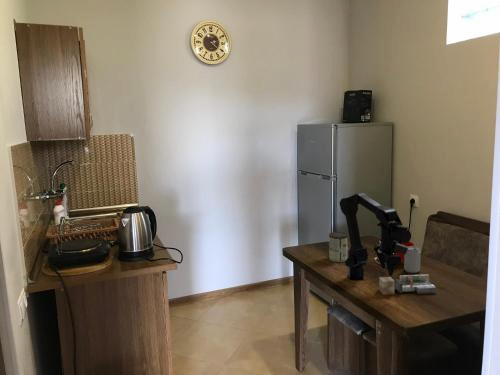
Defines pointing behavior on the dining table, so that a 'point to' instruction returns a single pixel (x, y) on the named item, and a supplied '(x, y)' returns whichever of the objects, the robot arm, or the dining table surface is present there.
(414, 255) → the can
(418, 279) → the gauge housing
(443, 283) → the dining table surface
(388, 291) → the block
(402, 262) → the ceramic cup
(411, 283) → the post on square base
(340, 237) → the coffee can
